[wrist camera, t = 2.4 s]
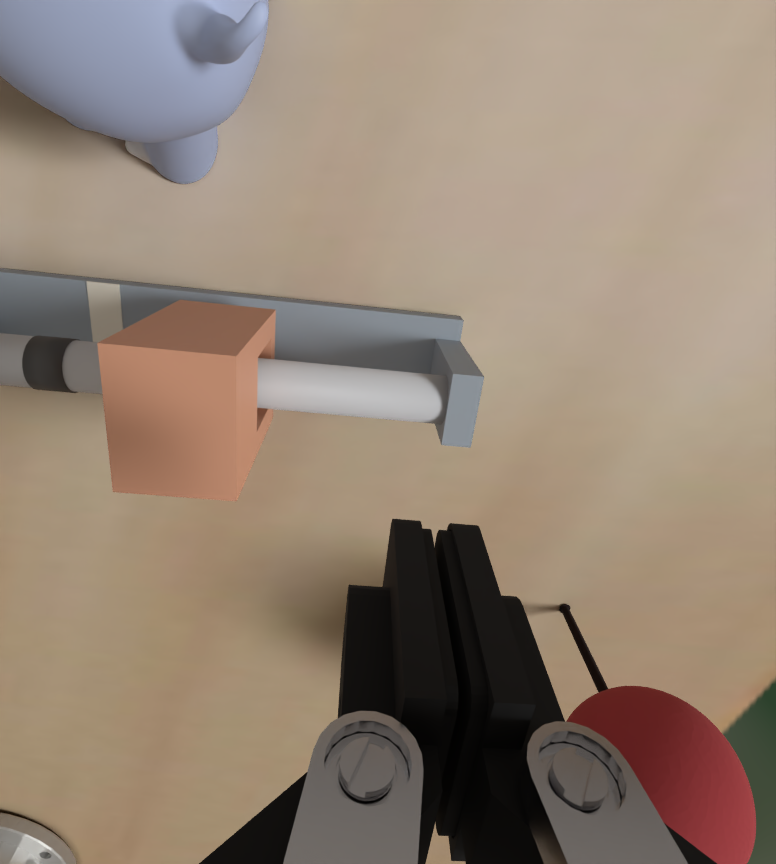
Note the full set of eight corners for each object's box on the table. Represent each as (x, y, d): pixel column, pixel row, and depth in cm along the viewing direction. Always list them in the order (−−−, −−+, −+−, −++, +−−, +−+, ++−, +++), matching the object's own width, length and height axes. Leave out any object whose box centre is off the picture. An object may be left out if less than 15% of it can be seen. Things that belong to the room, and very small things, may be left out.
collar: (272, 417, 25) (236, 501, 18) (184, 409, 24) (112, 491, 17) (275, 309, 23) (236, 356, 16) (179, 299, 22) (97, 342, 16)
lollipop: (631, 554, 32) (827, 816, 18) (614, 649, 35) (772, 935, 22) (505, 561, 32) (609, 830, 18) (499, 656, 35) (585, 948, 21)
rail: (444, 410, 28) (466, 469, 22) (-14, 369, 26) (-130, 420, 20) (460, 316, 26) (488, 351, 20) (-34, 264, 24) (-169, 285, 18)
